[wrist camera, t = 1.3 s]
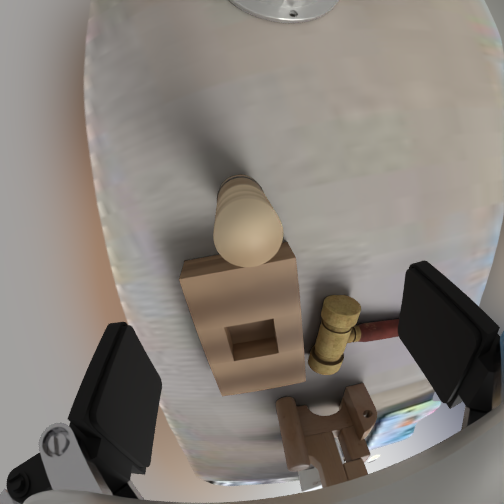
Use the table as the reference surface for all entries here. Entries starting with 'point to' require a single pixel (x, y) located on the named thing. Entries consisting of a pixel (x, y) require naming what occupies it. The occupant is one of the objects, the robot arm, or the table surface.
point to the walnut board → (247, 320)
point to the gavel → (343, 333)
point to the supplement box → (313, 476)
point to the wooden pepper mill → (245, 223)
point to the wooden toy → (328, 436)
